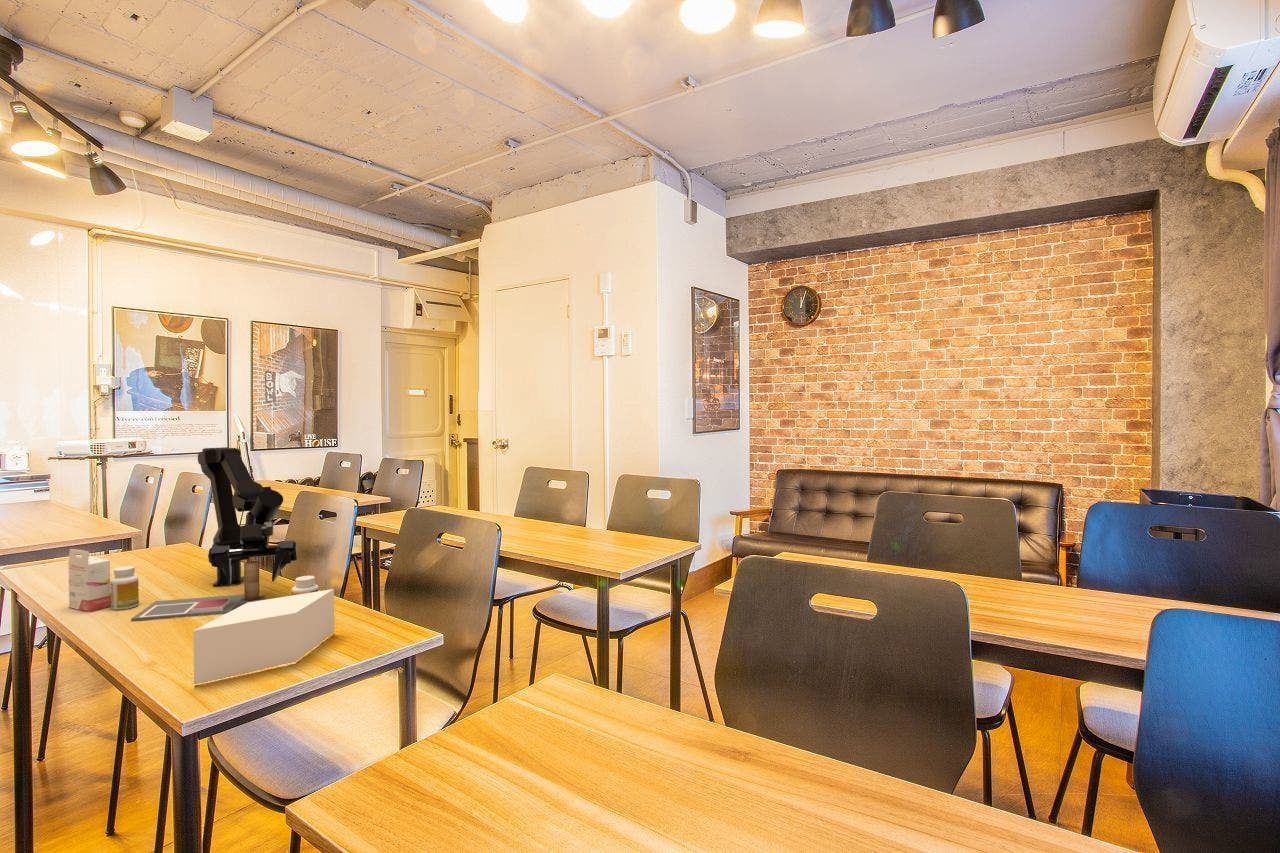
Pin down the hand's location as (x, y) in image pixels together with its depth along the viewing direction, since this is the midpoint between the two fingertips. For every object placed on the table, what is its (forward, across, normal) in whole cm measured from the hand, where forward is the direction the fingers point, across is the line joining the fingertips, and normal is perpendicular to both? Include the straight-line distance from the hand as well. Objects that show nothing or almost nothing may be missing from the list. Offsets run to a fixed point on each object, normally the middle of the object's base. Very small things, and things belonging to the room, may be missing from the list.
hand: (251, 582), depth 155 cm
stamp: (+4, 0, +6) cm, 7 cm away
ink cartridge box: (-8, -37, +18) cm, 41 cm away
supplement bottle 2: (+15, +13, -5) cm, 20 cm away
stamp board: (-1, -14, +10) cm, 17 cm away
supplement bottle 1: (-6, -29, +15) cm, 33 cm away
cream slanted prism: (+30, +8, -20) cm, 37 cm away
